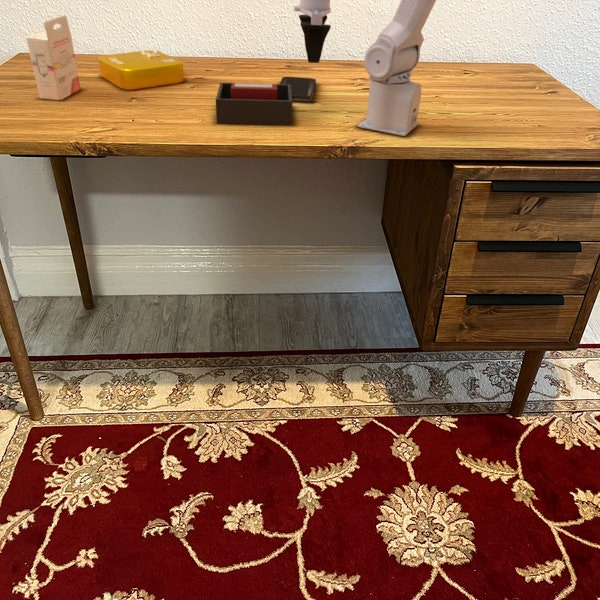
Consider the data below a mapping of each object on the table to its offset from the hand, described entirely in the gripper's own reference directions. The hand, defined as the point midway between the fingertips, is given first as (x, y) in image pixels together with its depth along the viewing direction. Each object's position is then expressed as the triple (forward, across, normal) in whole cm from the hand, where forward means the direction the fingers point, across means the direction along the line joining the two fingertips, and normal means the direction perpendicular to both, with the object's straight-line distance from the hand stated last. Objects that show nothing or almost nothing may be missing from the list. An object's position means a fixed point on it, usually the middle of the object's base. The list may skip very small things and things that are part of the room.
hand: (312, 57), depth 119 cm
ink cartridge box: (+10, -3, -52) cm, 53 cm away
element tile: (+10, -17, -38) cm, 42 cm away
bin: (+9, +7, -11) cm, 17 cm away
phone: (+9, -10, -3) cm, 14 cm away
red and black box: (+9, +7, -11) cm, 16 cm away
